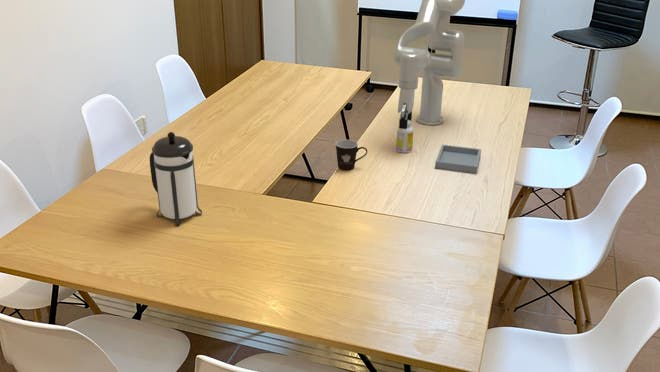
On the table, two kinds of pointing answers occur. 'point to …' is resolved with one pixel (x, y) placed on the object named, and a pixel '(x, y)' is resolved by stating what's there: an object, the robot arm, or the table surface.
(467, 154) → the tray
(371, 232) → the table surface
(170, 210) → the coffee press
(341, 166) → the coffee mug
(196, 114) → the table surface
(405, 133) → the supplement bottle
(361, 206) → the table surface
